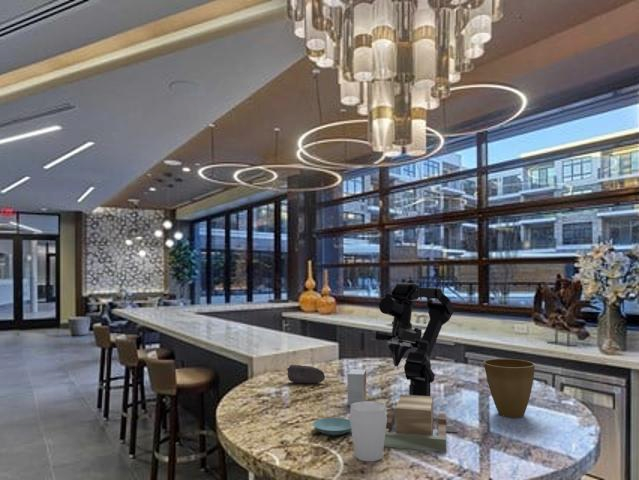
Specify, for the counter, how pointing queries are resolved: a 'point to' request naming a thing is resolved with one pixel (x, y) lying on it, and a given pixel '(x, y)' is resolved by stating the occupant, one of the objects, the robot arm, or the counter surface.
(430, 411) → the walnut block
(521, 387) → the plant pot
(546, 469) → the counter surface
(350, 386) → the small box
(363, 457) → the cup
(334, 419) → the saucer
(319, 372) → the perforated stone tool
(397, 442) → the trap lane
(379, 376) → the counter surface
